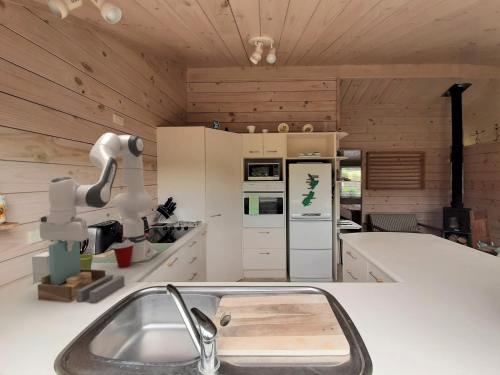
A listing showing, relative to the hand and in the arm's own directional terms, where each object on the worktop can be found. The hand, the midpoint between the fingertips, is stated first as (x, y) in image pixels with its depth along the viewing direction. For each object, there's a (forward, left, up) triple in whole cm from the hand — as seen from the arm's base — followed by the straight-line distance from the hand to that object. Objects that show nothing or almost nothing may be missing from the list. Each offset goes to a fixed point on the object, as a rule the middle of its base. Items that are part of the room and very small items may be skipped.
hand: (65, 250), depth 106 cm
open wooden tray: (0, +4, -18) cm, 18 cm away
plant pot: (-20, -11, -18) cm, 29 cm away
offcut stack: (0, +6, -16) cm, 17 cm away
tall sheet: (0, 0, -12) cm, 12 cm away
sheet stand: (0, +17, -18) cm, 24 cm away
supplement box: (-10, -21, -18) cm, 29 cm away
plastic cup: (-34, +1, -18) cm, 38 cm away
